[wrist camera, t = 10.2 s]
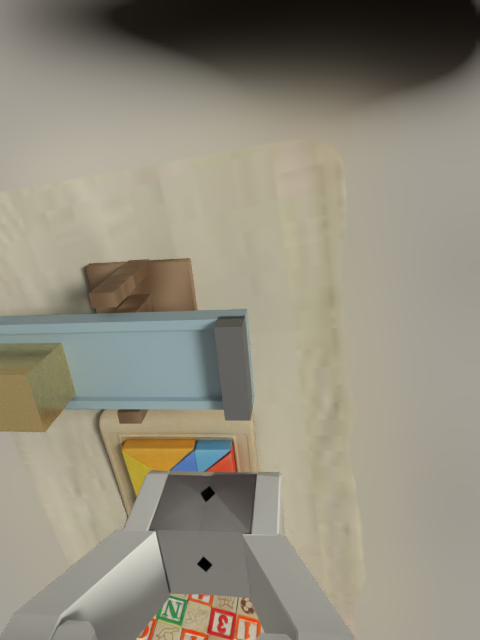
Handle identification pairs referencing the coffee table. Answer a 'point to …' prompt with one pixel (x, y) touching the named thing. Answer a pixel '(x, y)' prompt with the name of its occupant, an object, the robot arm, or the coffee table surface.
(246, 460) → the wooden puzzle
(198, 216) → the coffee table surface
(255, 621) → the stack of blocks
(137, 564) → the robot arm
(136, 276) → the pivot stand
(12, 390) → the block
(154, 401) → the beam
